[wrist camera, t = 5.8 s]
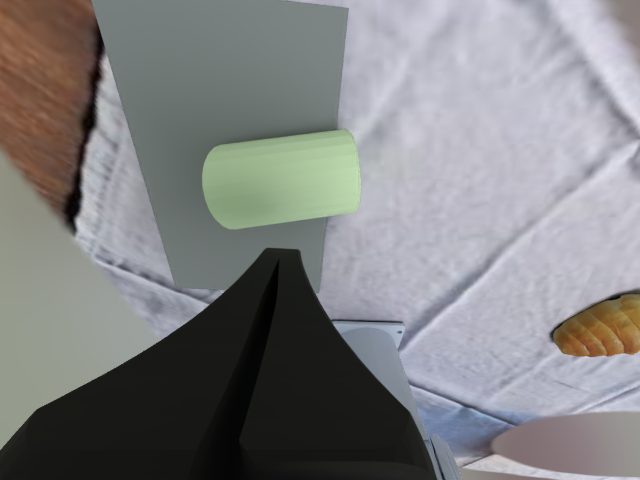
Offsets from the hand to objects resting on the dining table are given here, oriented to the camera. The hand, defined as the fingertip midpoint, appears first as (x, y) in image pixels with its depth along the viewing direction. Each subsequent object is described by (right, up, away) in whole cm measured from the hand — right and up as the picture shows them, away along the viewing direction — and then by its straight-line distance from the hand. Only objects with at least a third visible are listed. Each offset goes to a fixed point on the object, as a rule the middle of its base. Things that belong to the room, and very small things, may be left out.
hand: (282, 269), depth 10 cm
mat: (-4, +5, +8) cm, 11 cm away
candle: (+4, +5, +6) cm, 9 cm away
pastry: (+33, -7, +18) cm, 38 cm away
